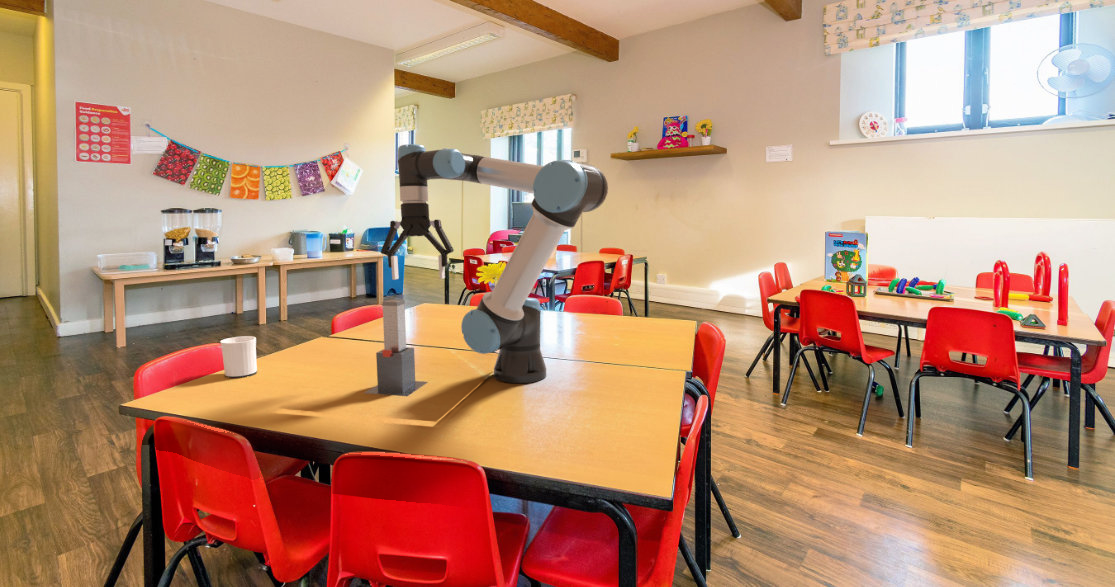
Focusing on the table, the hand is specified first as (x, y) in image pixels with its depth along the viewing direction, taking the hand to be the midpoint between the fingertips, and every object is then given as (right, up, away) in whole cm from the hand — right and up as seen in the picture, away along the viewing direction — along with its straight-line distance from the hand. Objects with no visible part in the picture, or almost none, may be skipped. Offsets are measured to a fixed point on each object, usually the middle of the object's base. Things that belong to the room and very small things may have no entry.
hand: (418, 278), depth 153 cm
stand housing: (-3, -30, -10) cm, 32 cm away
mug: (-53, -28, +5) cm, 60 cm away
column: (-3, -29, -10) cm, 31 cm away
